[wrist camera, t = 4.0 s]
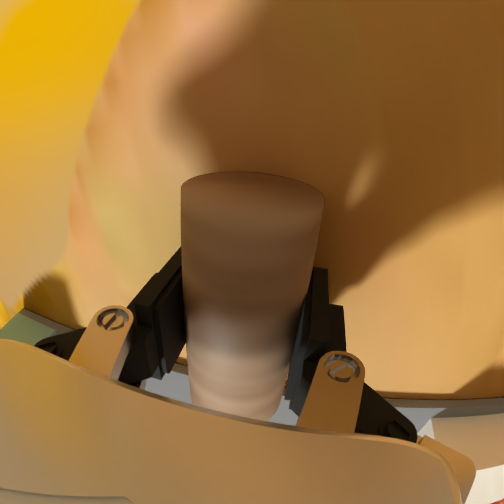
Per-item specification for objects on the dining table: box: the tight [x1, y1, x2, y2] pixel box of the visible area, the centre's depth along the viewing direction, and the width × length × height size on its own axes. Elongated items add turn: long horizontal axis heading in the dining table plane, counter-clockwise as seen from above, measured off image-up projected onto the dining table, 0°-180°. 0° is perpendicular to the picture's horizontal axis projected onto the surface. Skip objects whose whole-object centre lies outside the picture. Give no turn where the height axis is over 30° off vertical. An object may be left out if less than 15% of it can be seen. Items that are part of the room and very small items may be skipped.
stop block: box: [0, 313, 57, 346], centre depth 18 cm, size 16×4×4 cm, turn 175°
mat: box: [19, 308, 504, 433], centre depth 18 cm, size 16×44×1 cm, turn 85°
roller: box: [181, 172, 325, 421], centre depth 11 cm, size 9×4×4 cm, turn 175°
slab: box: [417, 413, 504, 504], centre depth 13 cm, size 10×14×4 cm
